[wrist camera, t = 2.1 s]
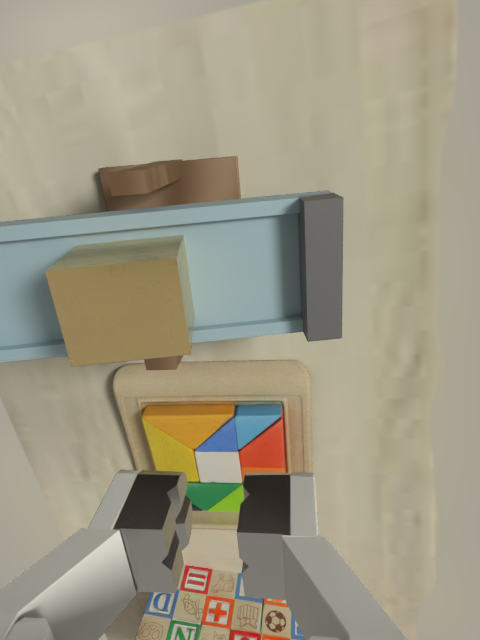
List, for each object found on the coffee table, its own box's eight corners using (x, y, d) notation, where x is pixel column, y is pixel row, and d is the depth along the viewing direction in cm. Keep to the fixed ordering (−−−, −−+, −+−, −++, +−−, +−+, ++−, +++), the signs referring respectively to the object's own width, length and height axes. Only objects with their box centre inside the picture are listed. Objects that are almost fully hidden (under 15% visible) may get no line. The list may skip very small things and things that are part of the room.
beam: (327, 190, 25) (343, 197, 22) (328, 317, 28) (341, 338, 25) (-55, 227, 24) (-92, 239, 21) (-11, 351, 28) (-37, 377, 25)
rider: (183, 234, 24) (176, 257, 20) (194, 316, 26) (190, 354, 22) (76, 245, 24) (44, 270, 19) (96, 326, 26) (71, 366, 21)
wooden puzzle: (151, 512, 47) (141, 540, 44) (116, 360, 39) (100, 381, 36) (313, 516, 44) (315, 546, 41) (309, 356, 37) (310, 377, 34)
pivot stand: (237, 154, 30) (217, 164, 22) (250, 313, 35) (237, 368, 27) (103, 166, 32) (38, 179, 24) (133, 317, 37) (88, 371, 28)
